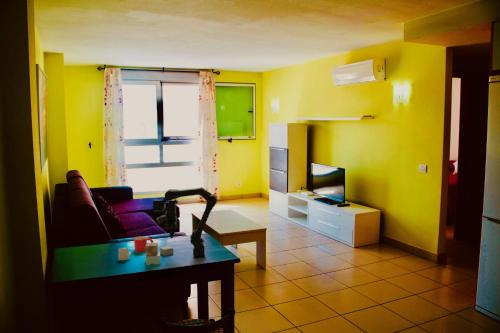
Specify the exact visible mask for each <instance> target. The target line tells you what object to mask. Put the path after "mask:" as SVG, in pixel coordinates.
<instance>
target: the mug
mask: <svg viewBox="0 0 500 333" xmlns="http://www.w3.org/2000/svg"><path fill="white" fill-rule="evenodd" d="M148 241H149V242H150V243H154V240H153V239H152V238H151V237H146V236H136V237H134V238H133V244H134V245H133V247H134V250H133V251H134V252H136V253H142V252H146V245H147V243H148Z"/></svg>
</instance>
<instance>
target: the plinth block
mask: <svg viewBox="0 0 500 333" xmlns="http://www.w3.org/2000/svg"><path fill="white" fill-rule="evenodd" d="M160 263H161V253H160V251H158V254H157V256H146V255H145V265H146V266H151V265H150V264H154V265H161V264H160Z"/></svg>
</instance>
